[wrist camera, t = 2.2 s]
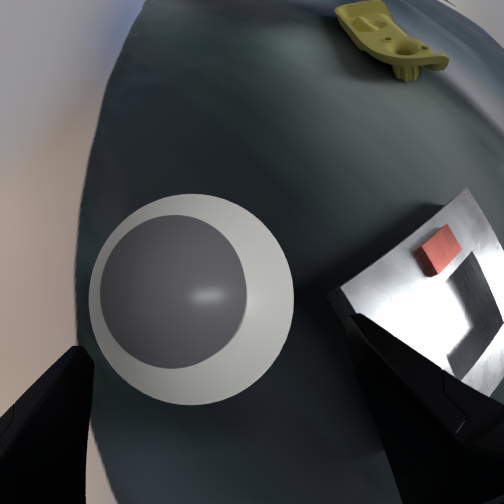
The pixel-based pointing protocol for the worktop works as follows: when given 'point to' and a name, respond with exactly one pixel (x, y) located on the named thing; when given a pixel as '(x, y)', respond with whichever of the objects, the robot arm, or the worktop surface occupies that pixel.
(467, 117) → the worktop surface
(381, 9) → the plastic component
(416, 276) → the socket box
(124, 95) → the worktop surface
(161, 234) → the plug
